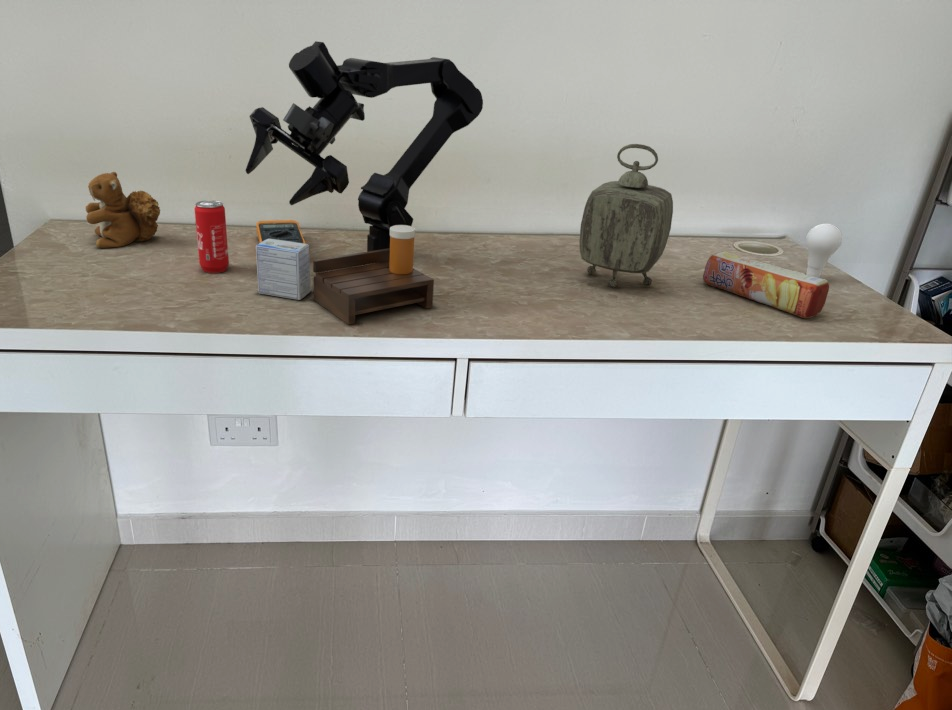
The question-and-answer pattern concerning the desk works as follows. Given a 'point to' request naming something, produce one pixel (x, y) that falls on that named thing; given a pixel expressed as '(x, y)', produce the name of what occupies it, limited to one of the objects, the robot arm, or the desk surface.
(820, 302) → the snack package
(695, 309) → the desk surface
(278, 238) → the multimeter
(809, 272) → the lightbulb
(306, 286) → the medicine box
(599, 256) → the tabletop clock
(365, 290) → the rack
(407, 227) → the pill bottle
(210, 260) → the red soda can
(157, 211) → the stuffed squirrel
